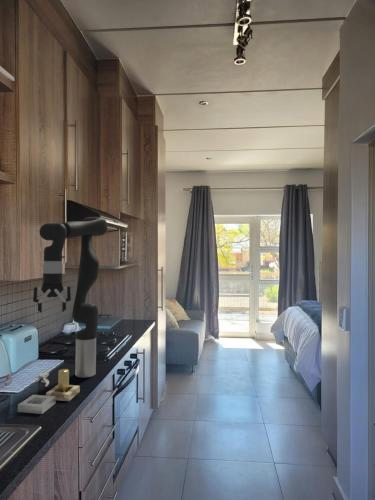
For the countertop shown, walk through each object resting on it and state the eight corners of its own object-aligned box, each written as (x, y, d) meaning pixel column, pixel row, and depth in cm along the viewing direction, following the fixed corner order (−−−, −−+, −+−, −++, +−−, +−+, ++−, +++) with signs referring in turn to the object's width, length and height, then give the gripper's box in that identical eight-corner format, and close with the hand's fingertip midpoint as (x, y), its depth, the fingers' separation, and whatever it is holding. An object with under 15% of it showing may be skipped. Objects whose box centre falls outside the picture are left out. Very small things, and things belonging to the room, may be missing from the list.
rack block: (58, 390, 151) (58, 384, 151) (79, 391, 149) (79, 385, 149) (45, 399, 141) (46, 392, 141) (68, 401, 140) (68, 394, 140)
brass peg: (61, 393, 147) (61, 368, 148) (70, 394, 147) (70, 369, 147) (56, 397, 144) (56, 371, 144) (65, 397, 143) (66, 372, 143)
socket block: (32, 401, 139) (32, 394, 139) (55, 403, 138) (55, 396, 138) (17, 411, 130) (17, 404, 130) (42, 414, 129) (42, 406, 129)
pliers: (22, 384, 153) (34, 372, 168) (22, 388, 153) (34, 376, 168) (46, 383, 154) (56, 372, 169) (46, 387, 154) (56, 375, 169)
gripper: (33, 272, 141) (32, 314, 141) (71, 272, 147) (70, 312, 146) (34, 271, 148) (33, 311, 148) (70, 271, 154) (69, 309, 153)
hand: (52, 311), depth 147 cm, fingers open, 8 cm apart
